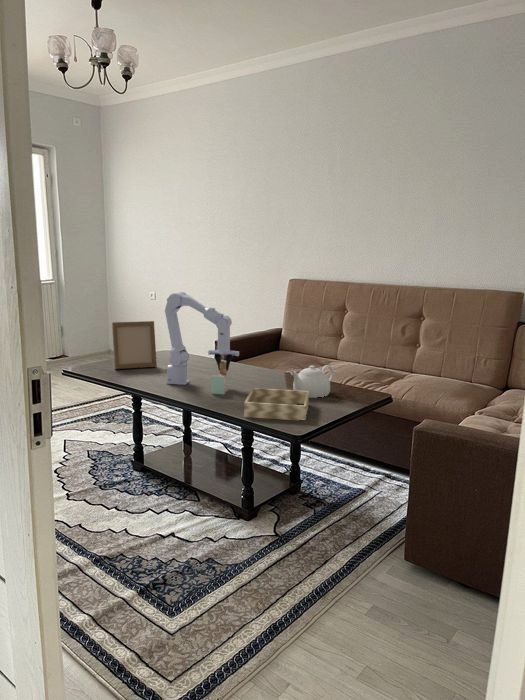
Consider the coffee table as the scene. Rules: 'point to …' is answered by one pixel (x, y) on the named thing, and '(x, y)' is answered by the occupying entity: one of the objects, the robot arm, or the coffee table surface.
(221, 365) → the turner
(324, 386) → the teapot
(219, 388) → the tile
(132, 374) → the coffee table surface
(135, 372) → the coffee table surface
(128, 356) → the photo frame
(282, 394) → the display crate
